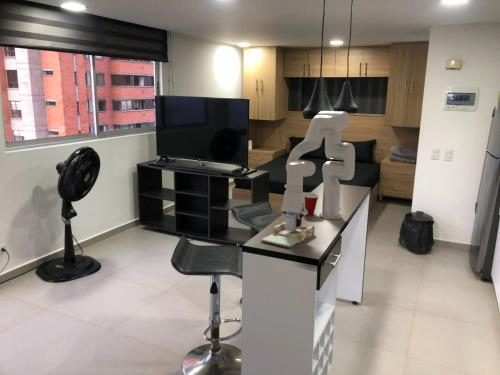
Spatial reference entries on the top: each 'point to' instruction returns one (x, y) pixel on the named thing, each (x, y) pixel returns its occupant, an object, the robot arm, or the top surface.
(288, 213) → the medicine box
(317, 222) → the top surface
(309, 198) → the plastic cup
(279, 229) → the beige square tray
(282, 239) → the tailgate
